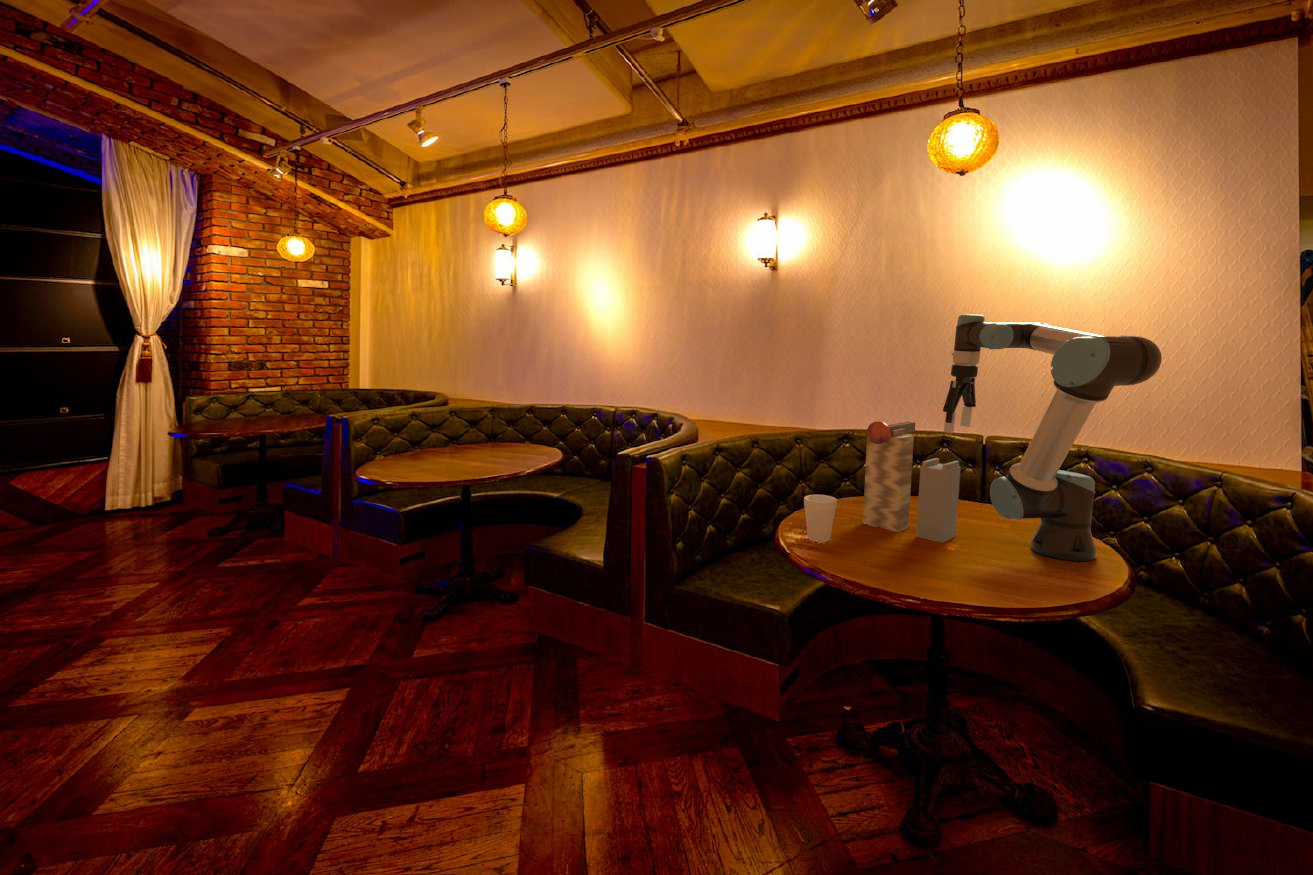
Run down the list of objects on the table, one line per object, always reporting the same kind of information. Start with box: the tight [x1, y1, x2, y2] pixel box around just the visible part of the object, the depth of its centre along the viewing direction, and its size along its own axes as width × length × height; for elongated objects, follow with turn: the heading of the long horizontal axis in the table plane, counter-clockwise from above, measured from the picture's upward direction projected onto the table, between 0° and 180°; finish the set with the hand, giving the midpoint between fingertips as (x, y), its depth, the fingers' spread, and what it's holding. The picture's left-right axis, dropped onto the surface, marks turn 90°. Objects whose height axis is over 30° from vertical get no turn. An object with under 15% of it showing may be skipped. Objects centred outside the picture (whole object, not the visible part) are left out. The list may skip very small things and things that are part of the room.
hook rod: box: [866, 420, 916, 444], centre depth 191 cm, size 7×22×7 cm, turn 131°
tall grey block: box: [915, 457, 962, 544], centre depth 181 cm, size 8×9×24 cm
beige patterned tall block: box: [862, 428, 915, 533], centre depth 192 cm, size 12×7×32 cm, turn 41°
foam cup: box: [803, 494, 838, 542], centre depth 179 cm, size 10×9×13 cm
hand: (956, 429), depth 194 cm, fingers open, 13 cm apart
